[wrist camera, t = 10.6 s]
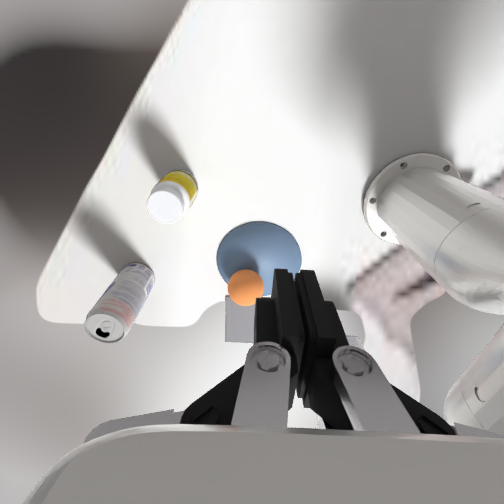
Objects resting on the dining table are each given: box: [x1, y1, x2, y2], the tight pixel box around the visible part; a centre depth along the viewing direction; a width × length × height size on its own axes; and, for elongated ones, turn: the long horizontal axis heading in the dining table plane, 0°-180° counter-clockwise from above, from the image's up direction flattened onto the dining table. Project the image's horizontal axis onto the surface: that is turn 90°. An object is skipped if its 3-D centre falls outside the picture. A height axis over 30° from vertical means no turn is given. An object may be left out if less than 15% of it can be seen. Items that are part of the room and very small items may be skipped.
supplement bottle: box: [147, 170, 198, 224], centre depth 36 cm, size 5×5×8 cm
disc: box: [217, 222, 302, 296], centre depth 45 cm, size 13×13×1 cm
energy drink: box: [84, 263, 155, 344], centre depth 42 cm, size 5×5×12 cm
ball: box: [228, 269, 264, 306], centre depth 44 cm, size 6×6×6 cm
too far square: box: [225, 296, 255, 343], centre depth 51 cm, size 10×10×1 cm
